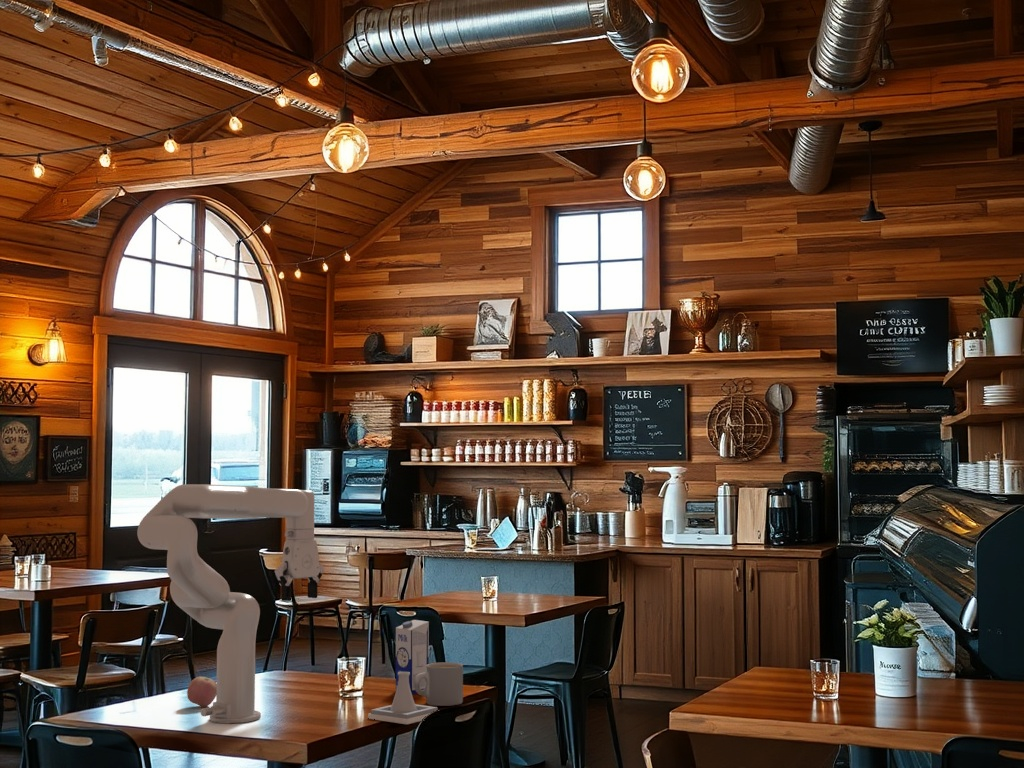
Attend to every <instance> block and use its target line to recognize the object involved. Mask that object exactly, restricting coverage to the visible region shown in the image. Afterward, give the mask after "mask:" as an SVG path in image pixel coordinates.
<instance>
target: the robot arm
mask: <svg viewBox="0 0 1024 768" xmlns="http://www.w3.org/2000/svg"><path fill="white" fill-rule="evenodd" d="M261 518H262V519H264V518H266V519H267V518H278V519H279V518H280V519H281V518H285V519H286V521H285V523H286V525H285V526H286V527H285V528H286V529H285V530H286V531H285V532H284V537H285V541H284V545H283V550H282V558H281V559H282V561H281V564H280V565H279V566H278V567H277V568H275V569H274V573H275V577H276V580H277V582H278V583H279V585H280V587H281V591H280V592H281V593H280V594H281V595H280V596H281V597H280V599H281V602H282V601H283V602H291V601H292V585H290V584H291V583H292V581H293V580H294V579H306V578H307V580H308V582H307V598H309V599H316V598H318V584H319V583H320V579H321V578H322V576H323V572H324V570H325V566H324V565H323V564H321V563H320V559H319V557H320V556H319V548H318V543H317V540H316V539H315V493H314V491H313V490H310V489H296V488H295V489H294V488H293V489H292V488H273V487H272V488H271V487H267V488H266V487H257V486H249V485H233V484H232V485H229V484H228V485H227V484H209V483H208V484H206V483H205V484H197V483H195V484H193V483H192V484H189V483H188V484H187V483H186V484H184V483H183V484H180V485H177V486H175V487H174V488H172V489H171V490H170V491H168V492H167V493H166V494H165V495H164V496H163V497H162V498H161V499H160V500H159V501H158V502H157V503H156V504H155V505H154V506H153V507H152V508H151V510H149V511H148V512H147V513H146V514H145V515H144V516H143V518H142V519H141V521H140V522H139V524H138V528H137V531H136V533H137V539H138V541H139V542H140V544H141V545H142V546H143V547H145V548H147V549H150V550H161V551H162V550H164V551H167V553H166V558H167V559H166V571H167V575H168V577H169V579H170V581H171V582H170V583H169V584H170V585H169V592H170V596H171V599H172V601H173V602H174V603H175V605H176V606H177V607H179V608H180V609H181V610H182V611H183V612H185V613H186V614H187V615H189V616H190V617H191V618H192V620H195V621H197V623H199V624H200V625H202V626H204V627H205V628H210V629H215V630H222V634H221V635H220V638H219V640H218V644H217V648H216V684H217V690H216V697H215V699H216V701H215V702H212V705H211V706H210V707H203V708H202V709H201V710H200V715H201V717H208V716H209V720H210V721H211V722H214V723H219V724H238V723H239V724H240V723H247V722H248V723H249V722H253V721H256V720H260V718H261V712H260V711H257V710H255V709H256V708H255V705H256V703H255V701H256V700H255V699H256V696H255V695H256V694H255V693H256V641H257V640H256V639H257V630H258V625H259V623H260V622H259V621H260V617H261V616H260V615H261V608H260V604H259V603H258V601H257V600H256V598H254V597H253V596H252V595H250V594H247V593H243V592H236V591H235V592H233V591H231V589H230V585H229V584H228V581H227V580H226V579H225V578H224V577H223V576H222V575H221V574H220V573H218V572H217V571H216V570H215V569H214V568H212V566H210V565H209V564H207V562H205V561H204V559H202V558H201V557H200V555H199V553H198V534H199V533H198V528H197V525H196V523H195V522H194V521H193V520H192V519H226V520H227V519H228V520H229V519H230V520H231V519H232V520H233V519H234V520H238V519H239V520H249V519H250V520H251V519H261Z"/></svg>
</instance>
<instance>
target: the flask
mask: <svg viewBox="0 0 1024 768" xmlns="http://www.w3.org/2000/svg"><path fill="white" fill-rule="evenodd" d="M409 675H410V672H398V676H399V681H398V687H397V691H396V690H395V694H394V697H393V701H392V704H391V705H392V706H391V709H390V711H394V712H401V713H409V712H413V711H417V708H416V705H417V704H416V703H415V700H414V697H413V694H412V693H411V690H410V685H409ZM415 704H416V705H415Z"/></svg>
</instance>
